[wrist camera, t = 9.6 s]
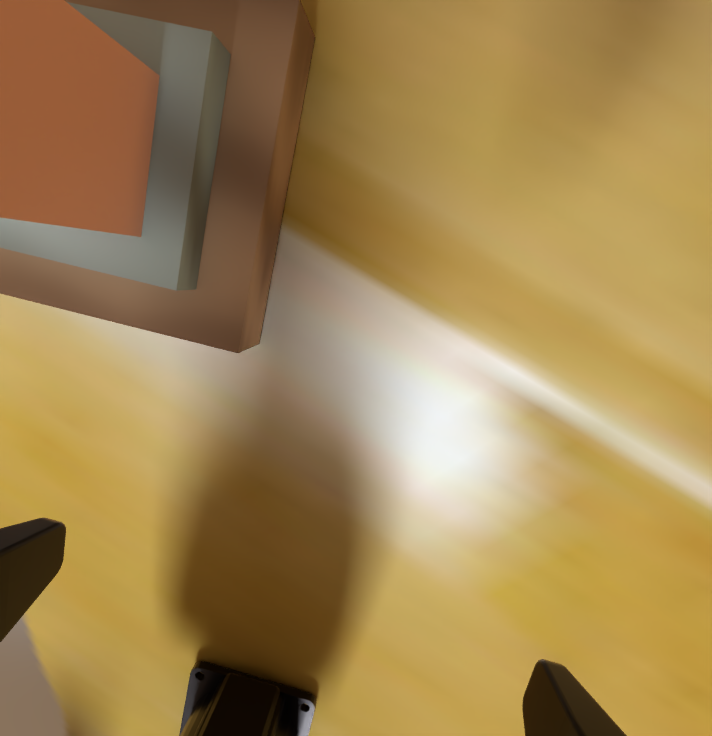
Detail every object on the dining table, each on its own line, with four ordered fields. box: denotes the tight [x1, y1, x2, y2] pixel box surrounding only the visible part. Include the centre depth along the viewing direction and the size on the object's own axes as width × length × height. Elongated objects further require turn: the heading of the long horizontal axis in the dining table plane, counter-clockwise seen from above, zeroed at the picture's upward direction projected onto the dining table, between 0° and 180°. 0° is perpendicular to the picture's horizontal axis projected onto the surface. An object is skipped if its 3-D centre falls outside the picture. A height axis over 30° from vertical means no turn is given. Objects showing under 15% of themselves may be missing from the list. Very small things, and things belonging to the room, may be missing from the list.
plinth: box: [0, 0, 315, 353], centre depth 17 cm, size 12×12×4 cm
